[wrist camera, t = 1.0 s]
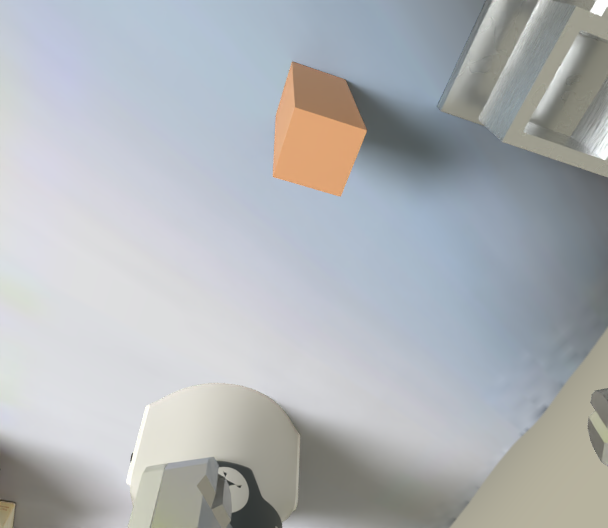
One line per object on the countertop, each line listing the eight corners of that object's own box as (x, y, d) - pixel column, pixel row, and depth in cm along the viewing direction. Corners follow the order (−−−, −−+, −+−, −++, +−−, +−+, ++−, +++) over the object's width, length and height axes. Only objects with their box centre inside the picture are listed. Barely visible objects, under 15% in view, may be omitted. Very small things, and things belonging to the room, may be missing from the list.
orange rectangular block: (326, 131, 34) (340, 196, 25) (275, 115, 33) (272, 176, 25) (345, 79, 32) (367, 130, 23) (291, 61, 31) (294, 107, 23)
